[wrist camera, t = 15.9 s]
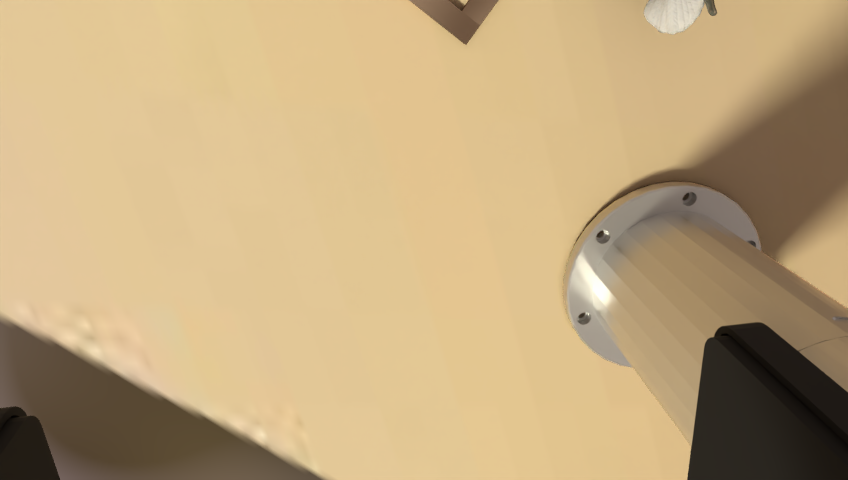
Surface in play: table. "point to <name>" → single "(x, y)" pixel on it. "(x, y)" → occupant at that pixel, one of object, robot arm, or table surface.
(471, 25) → the frame
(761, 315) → the robot arm
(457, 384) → the table surface
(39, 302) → the table surface
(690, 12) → the eagle figurine
